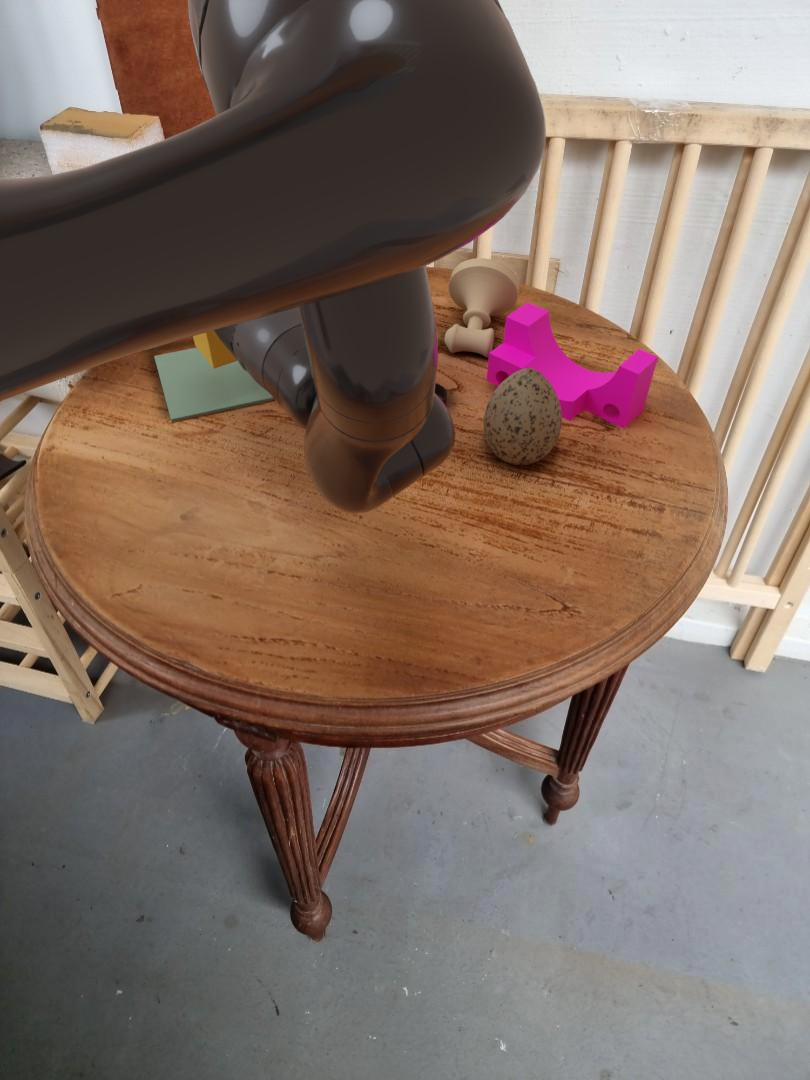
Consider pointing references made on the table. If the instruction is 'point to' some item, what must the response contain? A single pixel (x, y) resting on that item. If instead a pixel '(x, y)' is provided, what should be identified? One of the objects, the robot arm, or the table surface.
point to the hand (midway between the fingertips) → (199, 255)
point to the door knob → (480, 302)
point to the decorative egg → (523, 418)
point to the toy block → (571, 370)
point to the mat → (205, 385)
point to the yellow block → (213, 349)
